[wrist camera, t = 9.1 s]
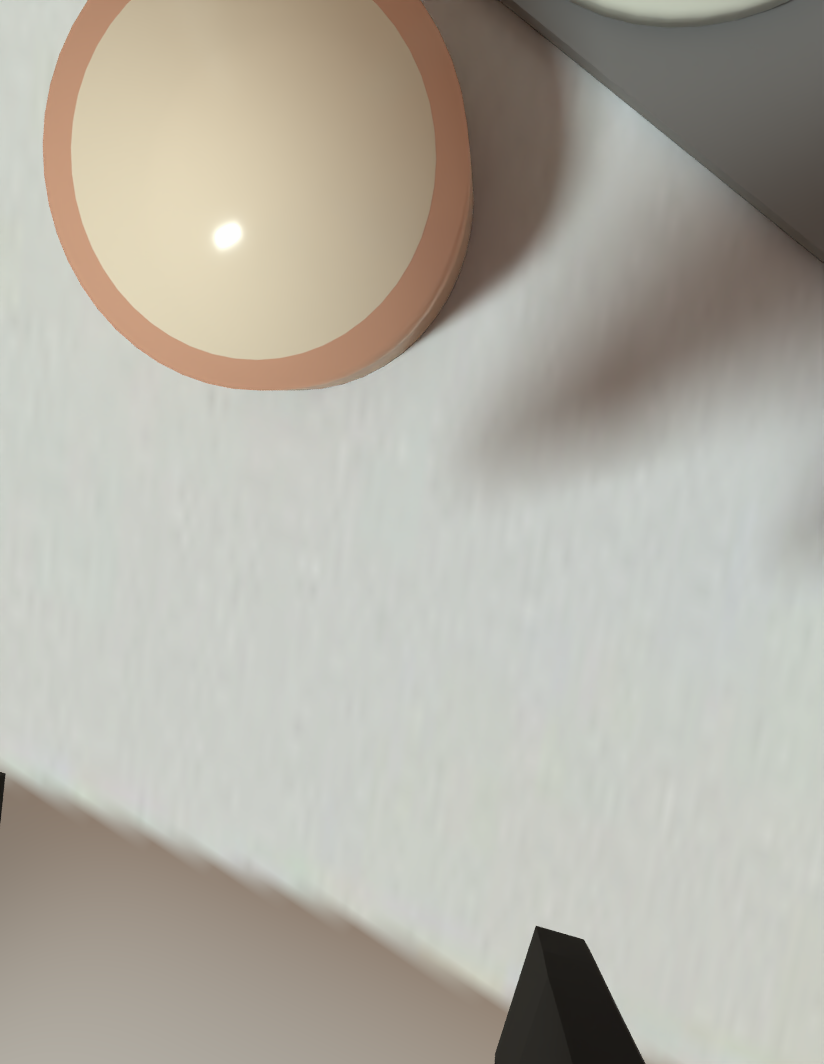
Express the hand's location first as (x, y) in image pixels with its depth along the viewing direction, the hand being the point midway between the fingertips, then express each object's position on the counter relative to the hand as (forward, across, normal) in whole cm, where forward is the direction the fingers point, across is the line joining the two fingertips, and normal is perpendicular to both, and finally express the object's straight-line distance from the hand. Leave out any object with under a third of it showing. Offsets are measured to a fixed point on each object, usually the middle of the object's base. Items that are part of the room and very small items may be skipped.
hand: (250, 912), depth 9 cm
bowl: (+9, +4, -10) cm, 14 cm away
